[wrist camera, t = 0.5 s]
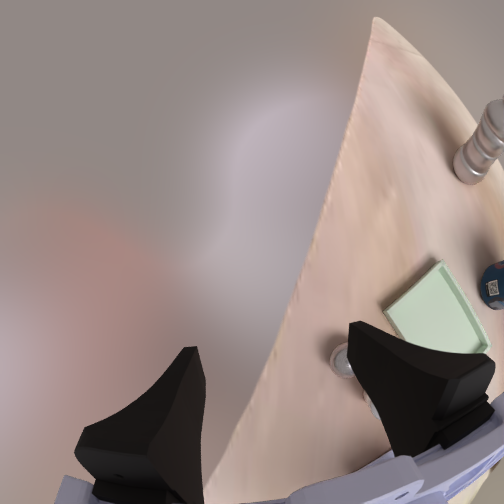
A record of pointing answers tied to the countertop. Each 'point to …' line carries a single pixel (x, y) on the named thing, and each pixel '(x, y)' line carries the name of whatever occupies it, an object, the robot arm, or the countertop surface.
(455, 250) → the countertop surface
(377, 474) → the robot arm
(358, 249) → the countertop surface
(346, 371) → the ball
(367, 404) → the shaker
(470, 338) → the tray
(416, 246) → the countertop surface
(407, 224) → the countertop surface
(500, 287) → the soda can
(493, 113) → the plastic bottle
